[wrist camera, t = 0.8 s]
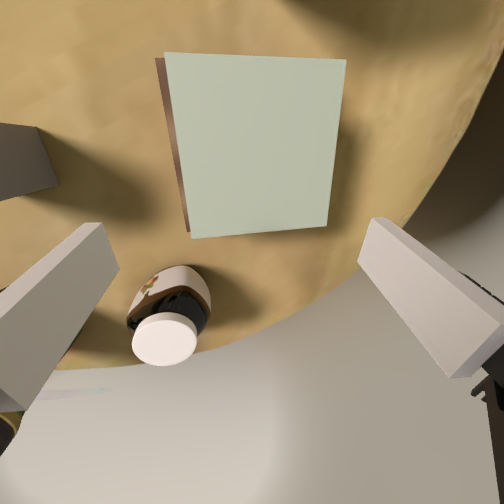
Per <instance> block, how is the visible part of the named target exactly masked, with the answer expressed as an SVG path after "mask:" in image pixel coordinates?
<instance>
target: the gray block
mask: <svg viewBox="0 0 504 504" xmlns="http://www.w3.org/2000/svg"><path fill="white" fill-rule="evenodd" d="M57 185H60V184H59V182H58V179H57V177H56V175H55V172H54V170H53V167H52V165H51V162H50V160H49V157H48V155H47V152H46V150H45V147H44V145H43V142H42V140H41V137H40V135H39V132H38V130H37V128H36V127H32V126H24V125H15V124H6V123H0V201H3V200H6V199H10V198H13V197H17V196H21V195H24V194H28V193H32V192H35V191H39V190H43V189H46V188H50V187H54V186H57Z"/></svg>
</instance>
